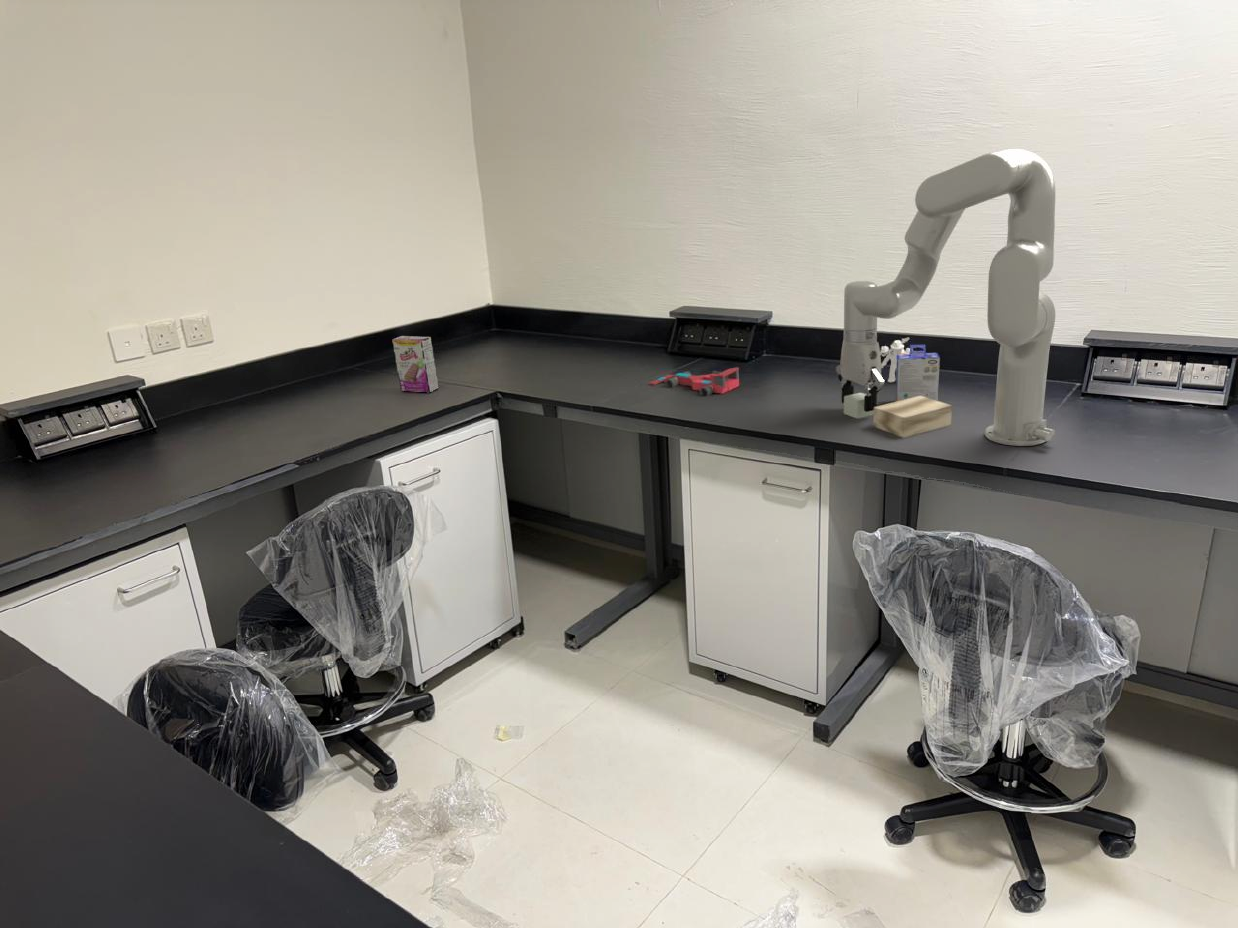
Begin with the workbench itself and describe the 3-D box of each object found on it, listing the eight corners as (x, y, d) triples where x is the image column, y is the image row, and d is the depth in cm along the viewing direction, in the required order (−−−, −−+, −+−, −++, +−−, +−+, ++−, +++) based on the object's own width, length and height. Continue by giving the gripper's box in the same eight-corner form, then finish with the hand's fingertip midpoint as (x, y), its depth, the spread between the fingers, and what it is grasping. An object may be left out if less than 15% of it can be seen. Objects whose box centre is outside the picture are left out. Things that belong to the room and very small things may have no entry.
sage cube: (873, 415, 212) (874, 397, 210) (856, 419, 210) (857, 401, 209) (860, 410, 216) (860, 392, 215) (843, 413, 214) (844, 396, 213)
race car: (672, 356, 259) (745, 364, 243) (673, 376, 261) (745, 385, 245) (642, 368, 249) (716, 377, 233) (644, 388, 251) (717, 399, 235)
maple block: (950, 426, 201) (952, 405, 199) (903, 439, 196) (904, 417, 194) (919, 415, 210) (920, 395, 208) (873, 427, 204) (873, 407, 202)
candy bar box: (400, 392, 266) (390, 339, 260) (410, 387, 270) (401, 335, 264) (430, 394, 261) (421, 340, 256) (440, 389, 266) (431, 336, 260)
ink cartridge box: (935, 399, 219) (938, 343, 213) (938, 406, 214) (941, 348, 208) (894, 400, 221) (896, 344, 216) (896, 407, 216) (898, 349, 211)
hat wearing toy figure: (914, 381, 235) (916, 337, 231) (909, 384, 232) (911, 340, 228) (881, 377, 240) (883, 334, 236) (876, 381, 237) (877, 338, 233)
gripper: (898, 339, 200) (895, 412, 206) (849, 326, 215) (848, 395, 221) (871, 344, 197) (869, 418, 204) (824, 331, 212) (824, 400, 219)
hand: (858, 406), depth 212 cm, fingers open, 7 cm apart
